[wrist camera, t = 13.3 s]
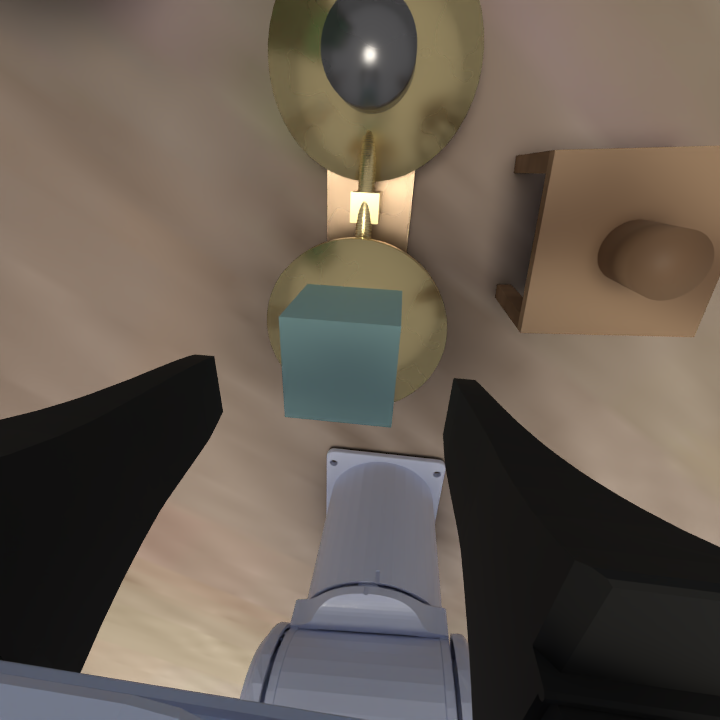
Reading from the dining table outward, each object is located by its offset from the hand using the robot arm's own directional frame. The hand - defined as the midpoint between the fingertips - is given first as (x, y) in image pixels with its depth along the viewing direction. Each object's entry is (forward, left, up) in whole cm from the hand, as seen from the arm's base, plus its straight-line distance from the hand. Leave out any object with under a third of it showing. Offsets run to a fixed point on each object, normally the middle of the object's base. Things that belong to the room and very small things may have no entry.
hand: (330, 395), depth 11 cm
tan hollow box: (+4, -10, -10) cm, 15 cm away
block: (0, 0, -6) cm, 6 cm away
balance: (+5, 0, -10) cm, 11 cm away
